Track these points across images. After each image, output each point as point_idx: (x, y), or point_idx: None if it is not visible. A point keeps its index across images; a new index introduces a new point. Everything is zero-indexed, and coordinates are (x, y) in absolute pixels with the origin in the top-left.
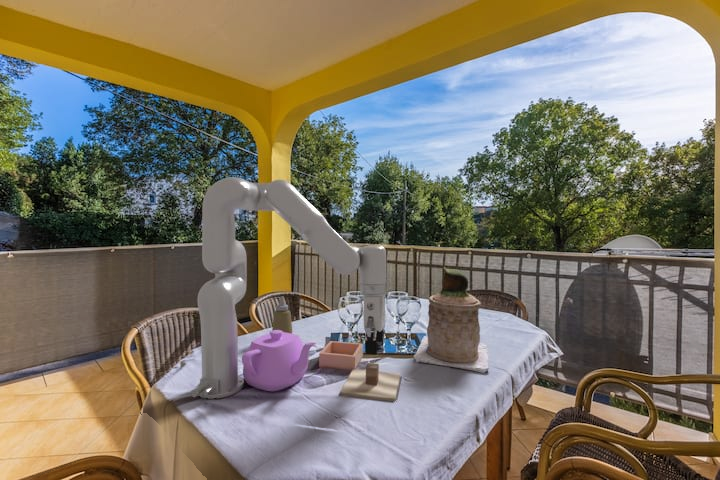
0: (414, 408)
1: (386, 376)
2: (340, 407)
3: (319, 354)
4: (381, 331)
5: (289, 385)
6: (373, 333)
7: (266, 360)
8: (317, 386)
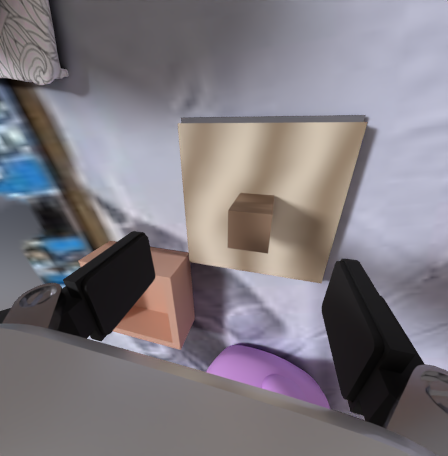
0: (411, 31)
1: (209, 170)
2: (378, 272)
3: (181, 346)
4: (96, 275)
5: (294, 366)
6: (124, 306)
7: None
8: (274, 318)
